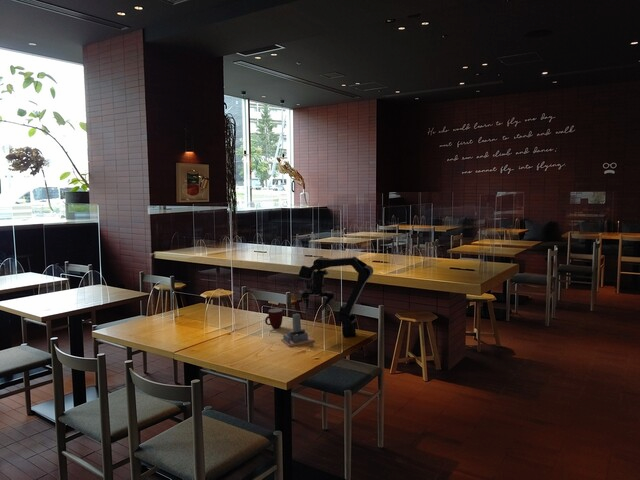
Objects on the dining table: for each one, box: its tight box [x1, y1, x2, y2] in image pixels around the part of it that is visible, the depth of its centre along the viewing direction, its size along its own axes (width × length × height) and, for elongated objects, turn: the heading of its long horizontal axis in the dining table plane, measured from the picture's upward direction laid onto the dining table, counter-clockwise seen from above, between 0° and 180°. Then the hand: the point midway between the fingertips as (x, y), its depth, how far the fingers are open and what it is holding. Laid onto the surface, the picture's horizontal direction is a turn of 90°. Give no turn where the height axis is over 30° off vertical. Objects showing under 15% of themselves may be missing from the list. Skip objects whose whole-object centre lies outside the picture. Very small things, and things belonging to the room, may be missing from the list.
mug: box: [264, 307, 284, 330], centre depth 267 cm, size 11×8×10 cm
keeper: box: [280, 333, 315, 348], centre depth 245 cm, size 14×10×4 cm
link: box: [286, 313, 309, 343], centre depth 244 cm, size 8×8×13 cm
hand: (314, 310), depth 255 cm, fingers open, 9 cm apart
